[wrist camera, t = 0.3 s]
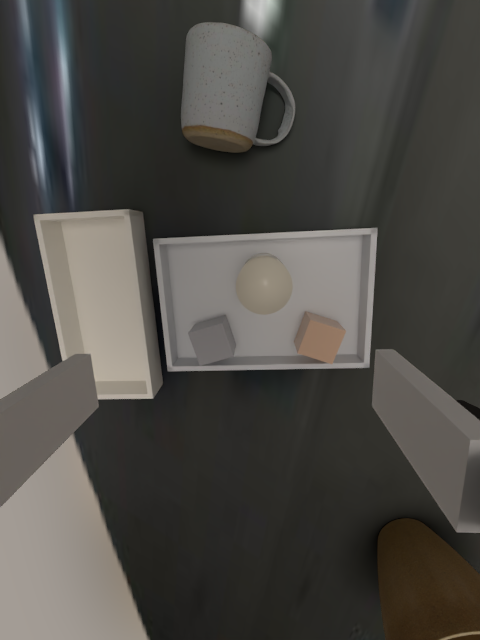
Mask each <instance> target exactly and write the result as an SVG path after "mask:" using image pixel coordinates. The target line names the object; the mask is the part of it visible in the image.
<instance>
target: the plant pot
mask: <svg viewBox="0 0 480 640" xmlns="http://www.w3.org/2000/svg"><path fill="white" fill-rule="evenodd" d="M377 561H378V582H379V594H380V603H381V611H382V619H383V626H384V632H385V638H386V640H480V574H479V573H478V572H477V571H476V570H475V569H474V568H473V567H472V566H471V565H470V564H469V563H468V562H467V561H466V560H465V559H463V558H462V557H461V556H460V555H459V554H458V553H457V552H456V551H455V550H454V549H453V548H452V547H451V546H450V545H448V544H447V543H446V542H445V541H444V540H443V539H442V538H440V537H439V536H438V535H437V534H436V533H435V532H433V531H432V530H431V529H430V528H429V527H427V526H426V525H425V524H423V523H422V522H420V521H418V520H415V519H409V518H402V519H397V520H394V521H391V522H390V523H388V524H387V525H385V526H384V527H383V528H382V530H381V531H380V533H379V536H378V552H377Z"/></svg>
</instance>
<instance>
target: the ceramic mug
mask: <svg viewBox="0 0 480 640" xmlns="http://www.w3.org/2000/svg"><path fill="white" fill-rule="evenodd" d="M271 61H272V54H271V50H270V49H269V47H268V46H267V44H266V43H265V42H264V41H263V40H262V39H260V38H259V37H258V36H256V35H255V34H253V33H251V32H249V31H247V30H245V29H243V28H240V27H238V26H234V25H230V24H226V23H214V22H206V23H200V24H197V25H195V26H194V27H192V28H191V29H190V30H189V31H188V33H187V36H186V48H185V63H184V76H183V94H182V105H181V126H182V132H183V135H184V136H185V138H186V139H187V140H188V141H190V142H192V143H194V144H196V145H199V146H202V147H205V148H209V149H213V150H218V151H223V152H233V153H240V152H245V151H247V150H249V149H250V148H251V147H252V145H253V144H254V145H256V146H270V145H273V144H276V143H278V142H280V141H281V140H283V139H284V138H285V136H286V135H287V134H288V133H289V131H290V129H291V127H292V124H293V120H294V116H295V102H294V98H293V96H292V93H291V91H290V89H289V88H288V86H287V85H286V84H285V83H284V82H283V80H281V79H280V78H279V77H278V76H277V75H275V74H274V73H272V72H270V66H271ZM267 82H268V83H270V84H271V85H273V86H274V87H275V88H276V89H277V90H278V91H279V92H280V94H281V95H282V97H283V99H284V102H285V113H284V117H283V121H282V124H281V127H280V128H279V129H278V136H277V137H276V138H274V139H272V140H262V139H258V138H256V134H257V130H258V125H259V120H260V113H261V108H262V103H263V99H264V95H265V91H266V85H267Z"/></svg>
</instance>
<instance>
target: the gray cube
mask: <svg viewBox="0 0 480 640" xmlns="http://www.w3.org/2000/svg"><path fill="white" fill-rule="evenodd" d="M188 335H189V338H190V340H191V343H192V346H193V349H194V351H195V354H196V357H197V359H198V362H199V365H200V366H201V365H205V364H209V363H212V362H216V361H220V360H223V359H227V358H230V357H234V353H235V348H236V342H235V339H234V336H233V333H232V330H231V327H230V324H229V321H228V318H227V315H222V316H219V317H216V318H212V319H209V320H205V321H202V322H199V323H195V324H194V326H193V327H192V328H191V330H190V331H189V332H188Z"/></svg>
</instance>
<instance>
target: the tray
mask: <svg viewBox="0 0 480 640" xmlns="http://www.w3.org/2000/svg"><path fill="white" fill-rule="evenodd" d="M153 245H154V254H155V262H156V271H157V280H158V289H159V298H160V307H161V316H162V324H163V333H164V342H165V351H166V360H167V369H168V371H212V370H268V369H324V368H369V362H370V346H371V329H372V312H373V295H374V279H375V262H376V245H377V228H363V229H343V230H323V231H302V232H282V233H261V234H241V235H220V236H200V237H180V238H159V239H153ZM258 253H269V254H272V255H274V256H276V257H277V258H278V259H279V260H280V261H281V262H282V263H283V265H284V266H285V267H286V269H287V270H288V272H289V273H290V276H291V278H292V284H293V288H292V294H291V297H290V299H289V301H288V302H287V304H286V305H285V306H284V307H283V308H282V309H280V310H279V311H277V312H275V313H272V314H266V315H261V314H256V313H253V312H251V311H249V310H248V309H246V308H245V307H244V306H243V305H242V304H241V302H240V301H239V299H238V296H237V293H236V280H237V277H238V275H239V273H240V271H241V269H242V268H243V266H244V264H245V262H246V261H247V260H248V259H249V258H250V257H251V256H253V255H255V254H258ZM305 311H307V312H310V313H313V314H316V315H320V316H323V317H326V318H329V319H332V320H335V321H338V322H339V323H340V325H341V326H342V327H343V328H344V329H345V330H346V333H345V335H344V338H343V340H342V342H341V345H340V347H339V349H338V352H337V354H336V357H335V359H334V361H333V364H329V363H326V362H323V361H320V360H317V359H314V358H310V357H307V356H304V355H301V354H298V353H297V350H296V347H295V344H294V340H295V337H296V334H297V332H298V329H299V326H300V324H301V321H302V319H303V316H304V313H305ZM222 315H227V318H228V321H229V324H230V327H231V330H232V333H233V336H234V339H235V342H236V348H235V353H234V357H230V358H227V359H223V360H220V361H216V362H212V363H209V364H205V365H201V366H200V365H199V362H198V359H197V357H196V354H195V351H194V349H193V346H192V343H191V340H190V338H189V335H188V332H189V331H190V330H191V328H192V327H193V326H194V324H195V323H199V322H202V321H205V320H209V319H212V318H216V317H219V316H222Z"/></svg>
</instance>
